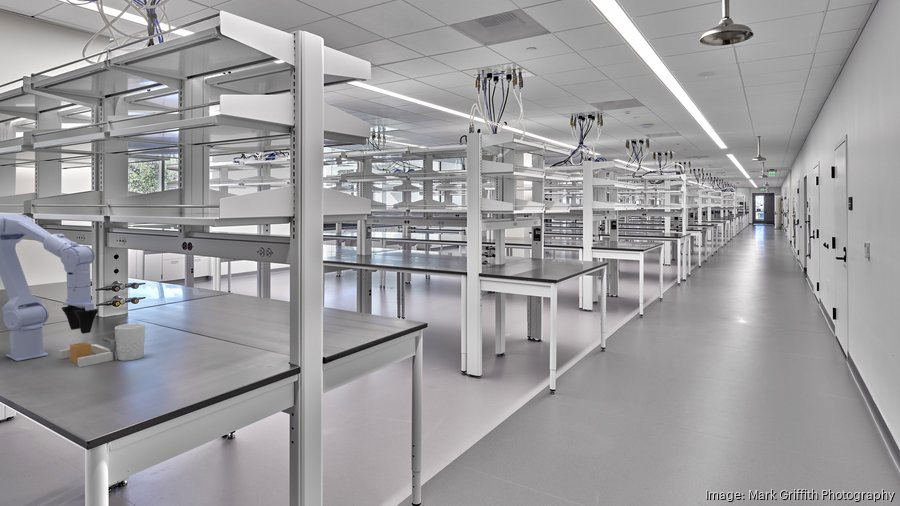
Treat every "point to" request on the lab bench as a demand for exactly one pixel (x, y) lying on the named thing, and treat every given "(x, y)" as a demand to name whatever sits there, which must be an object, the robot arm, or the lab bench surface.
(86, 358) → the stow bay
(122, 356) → the white cup
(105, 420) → the lab bench surface
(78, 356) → the tan wooden cube
